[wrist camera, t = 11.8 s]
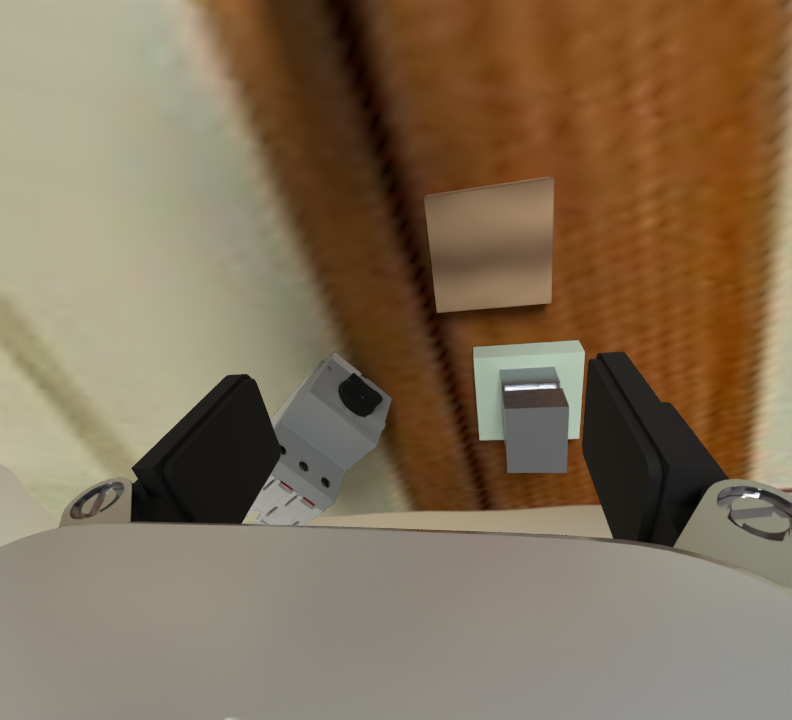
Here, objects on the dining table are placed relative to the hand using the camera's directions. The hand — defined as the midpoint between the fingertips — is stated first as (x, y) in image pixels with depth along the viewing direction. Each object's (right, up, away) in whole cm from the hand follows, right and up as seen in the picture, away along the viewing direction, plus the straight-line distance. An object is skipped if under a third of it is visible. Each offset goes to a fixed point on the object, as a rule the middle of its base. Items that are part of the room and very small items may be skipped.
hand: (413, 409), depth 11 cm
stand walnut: (+8, +12, +25) cm, 28 cm away
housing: (+13, -3, +28) cm, 31 cm away
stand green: (+13, -1, +31) cm, 33 cm away
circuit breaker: (-7, -2, +35) cm, 35 cm away
